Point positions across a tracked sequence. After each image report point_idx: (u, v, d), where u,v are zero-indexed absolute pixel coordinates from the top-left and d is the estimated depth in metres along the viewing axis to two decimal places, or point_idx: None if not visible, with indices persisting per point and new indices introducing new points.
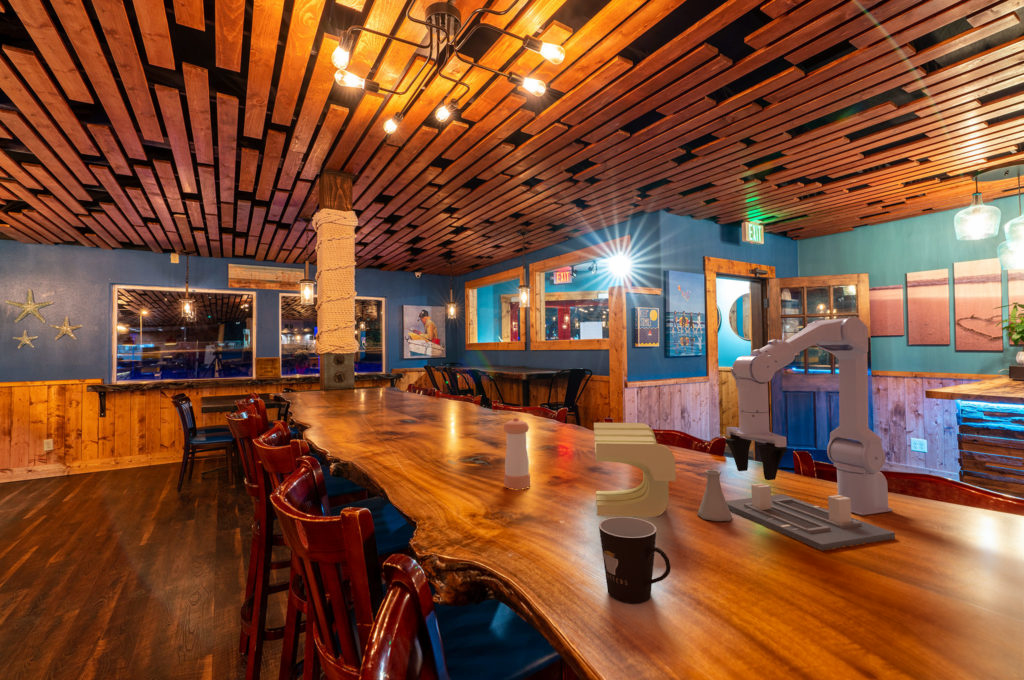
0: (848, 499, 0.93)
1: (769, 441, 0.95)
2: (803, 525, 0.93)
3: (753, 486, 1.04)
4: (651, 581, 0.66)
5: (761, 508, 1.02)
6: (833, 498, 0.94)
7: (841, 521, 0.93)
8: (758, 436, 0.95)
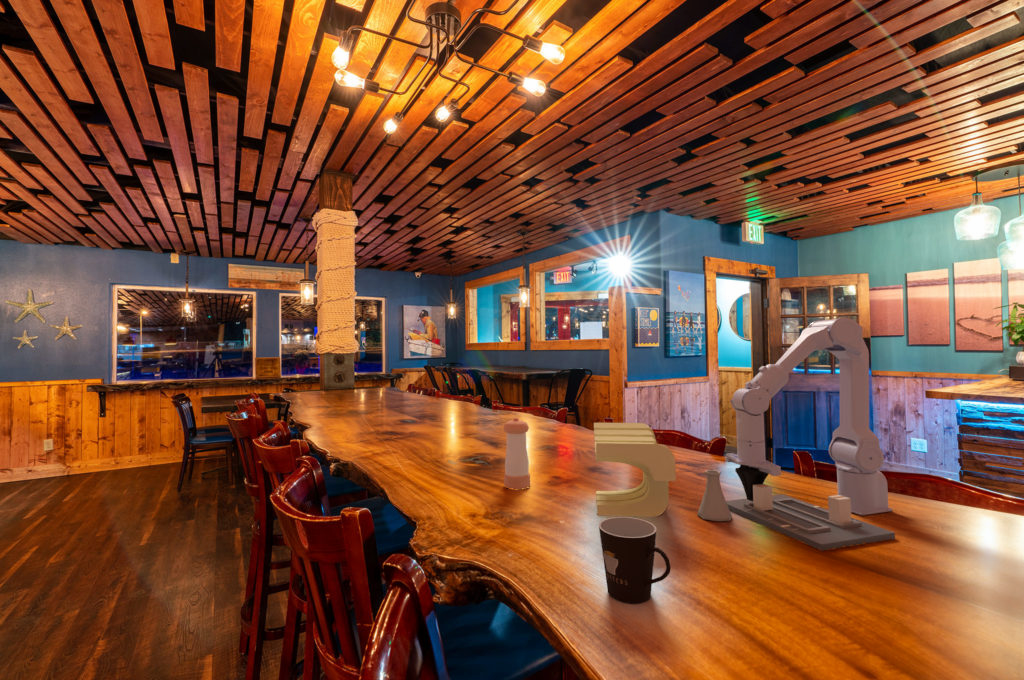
0: (848, 499, 0.93)
1: (765, 469, 1.02)
2: (803, 525, 0.93)
3: (754, 487, 1.03)
4: (651, 581, 0.66)
5: (763, 509, 1.01)
6: (833, 498, 0.94)
7: (841, 521, 0.93)
8: (755, 465, 1.02)
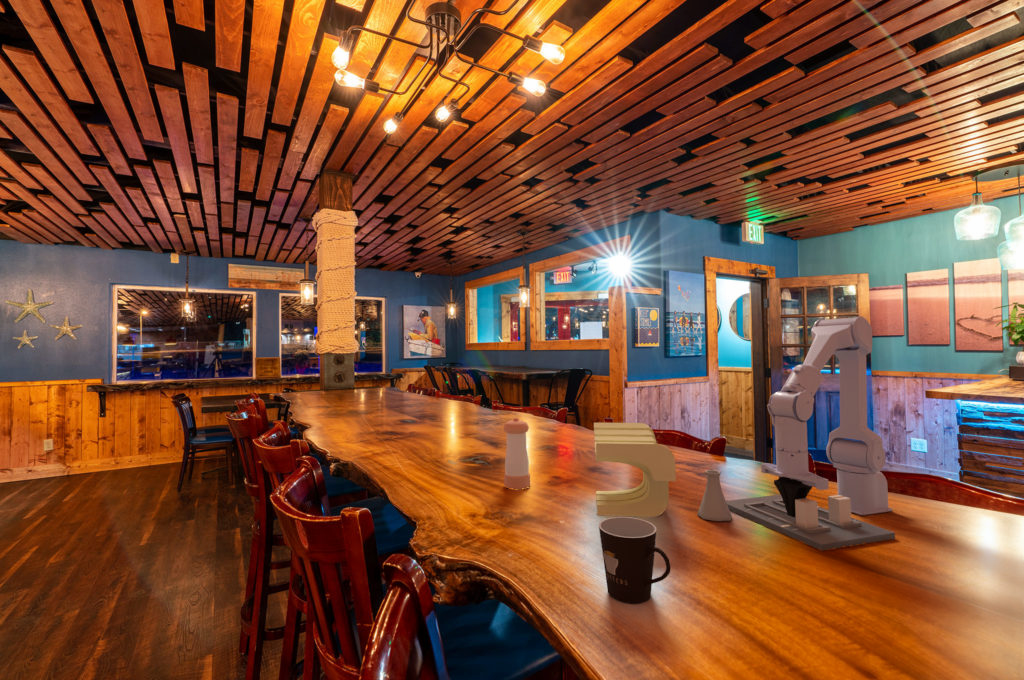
0: (848, 499, 0.93)
1: (809, 482, 0.91)
2: None
3: (797, 501, 0.93)
4: (651, 581, 0.66)
5: (807, 526, 0.91)
6: (833, 498, 0.94)
7: (841, 521, 0.93)
8: (798, 477, 0.92)
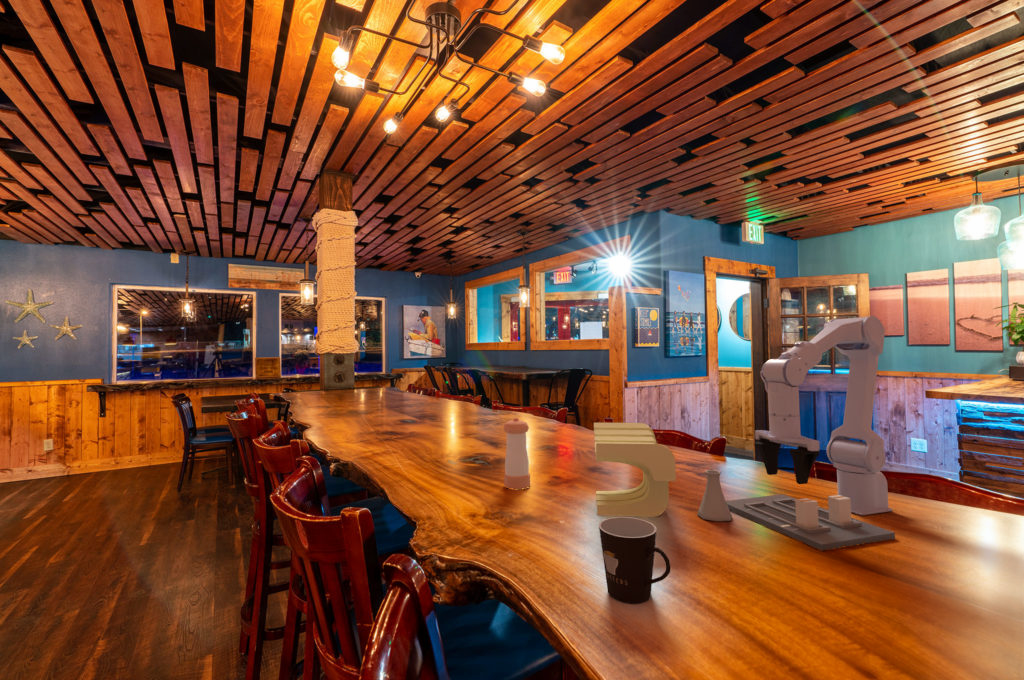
0: (848, 499, 0.93)
1: (801, 445, 0.94)
2: None
3: (797, 501, 0.93)
4: (651, 581, 0.66)
5: (807, 526, 0.91)
6: (833, 498, 0.94)
7: (841, 521, 0.93)
8: (790, 440, 0.95)
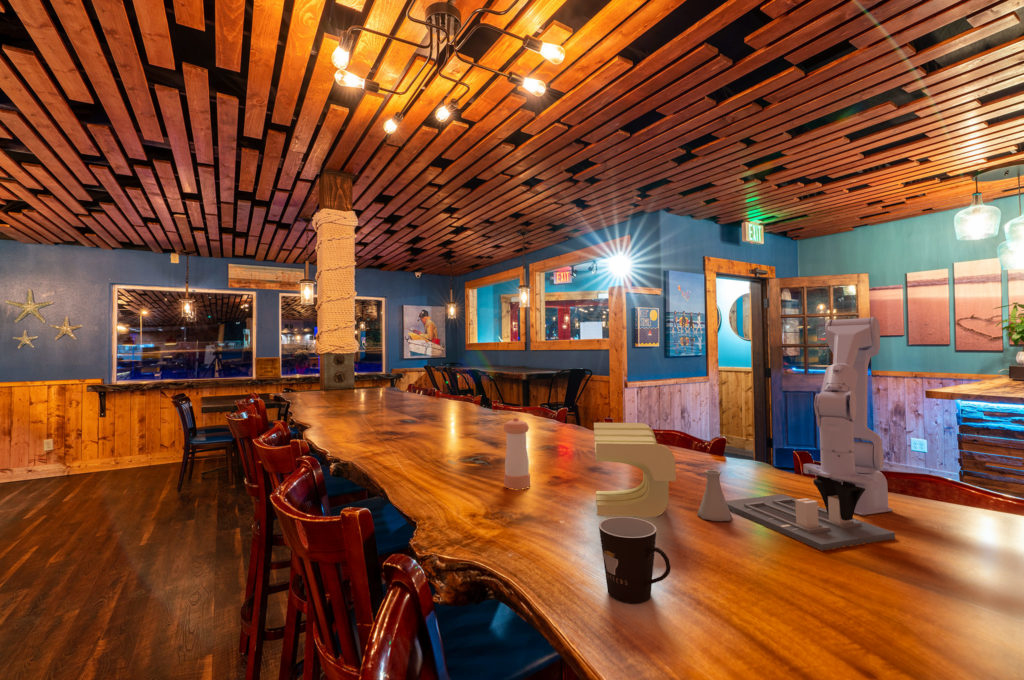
0: None
1: (857, 483, 0.90)
2: None
3: (797, 501, 0.93)
4: (651, 581, 0.66)
5: (807, 526, 0.91)
6: (833, 498, 0.94)
7: (841, 521, 0.93)
8: (845, 478, 0.91)
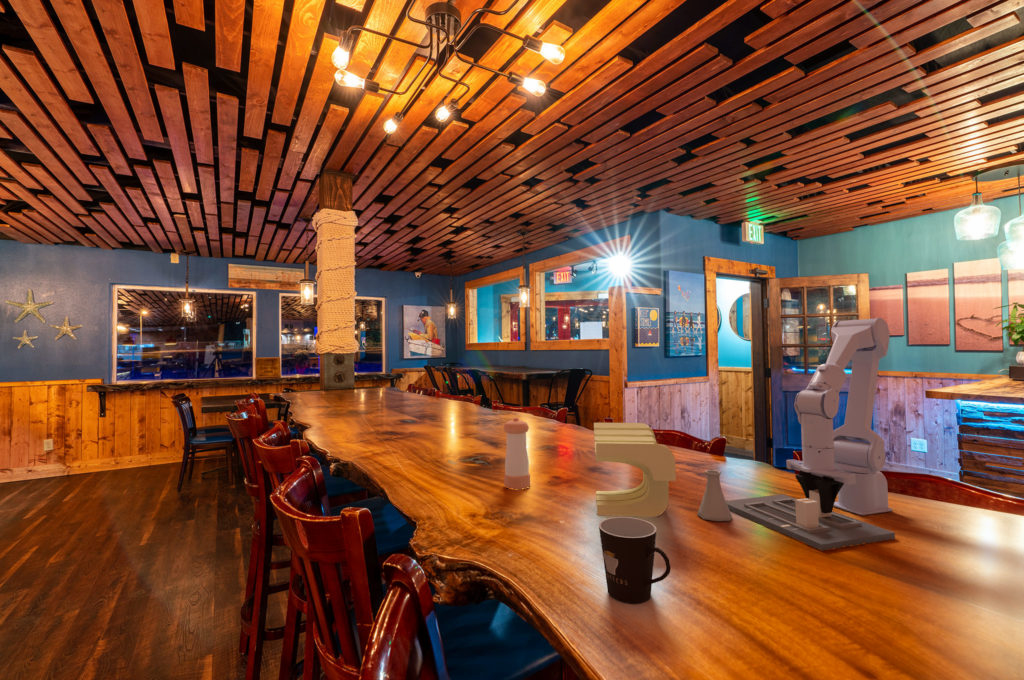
0: None
1: (836, 478, 0.94)
2: None
3: (797, 501, 0.93)
4: (651, 581, 0.66)
5: (807, 526, 0.91)
6: (814, 492, 0.98)
7: (821, 514, 0.97)
8: (825, 472, 0.95)
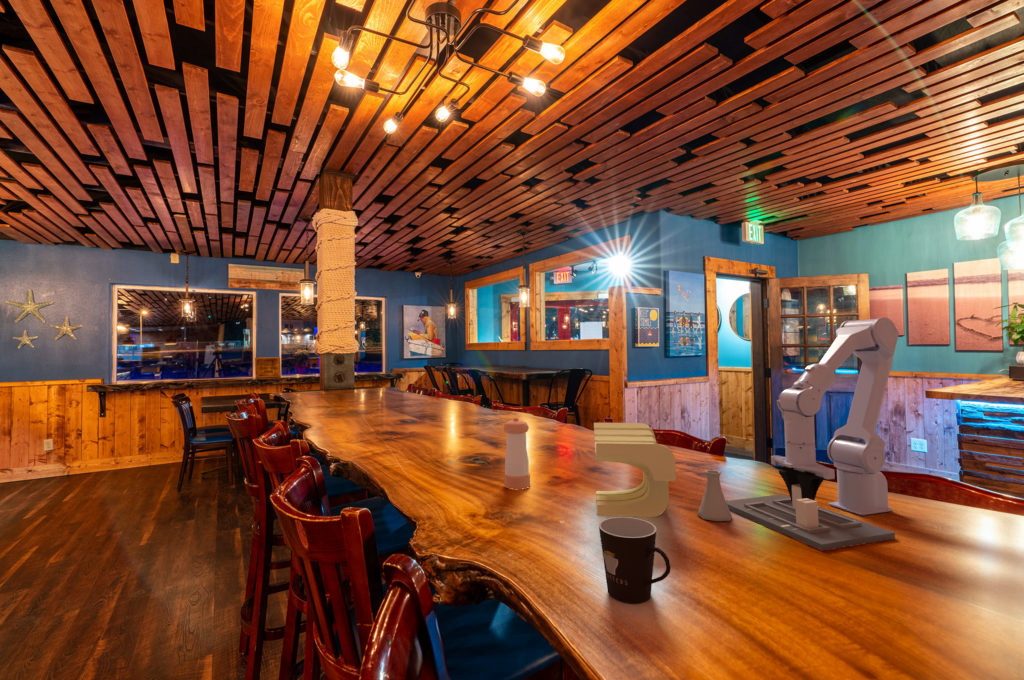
0: None
1: (817, 472, 0.99)
2: None
3: (797, 501, 0.93)
4: (651, 581, 0.66)
5: (807, 526, 0.91)
6: (796, 486, 1.02)
7: None
8: (806, 467, 0.99)
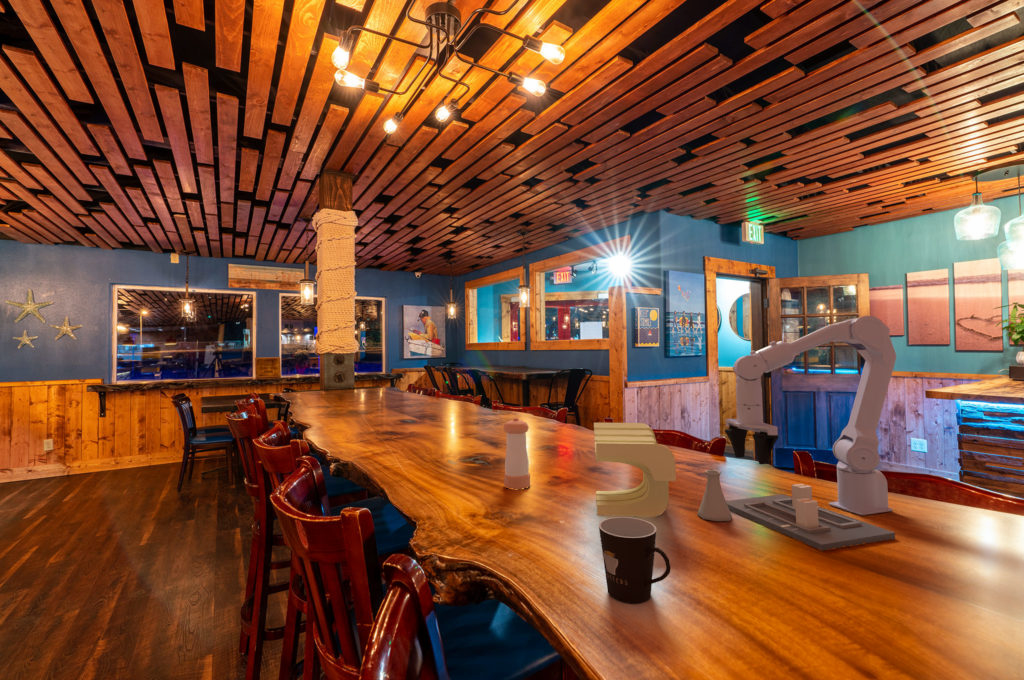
0: (809, 487, 1.02)
1: (763, 430, 1.09)
2: None
3: (797, 501, 0.93)
4: (651, 581, 0.66)
5: (807, 526, 0.91)
6: (796, 486, 1.02)
7: None
8: (753, 426, 1.09)
